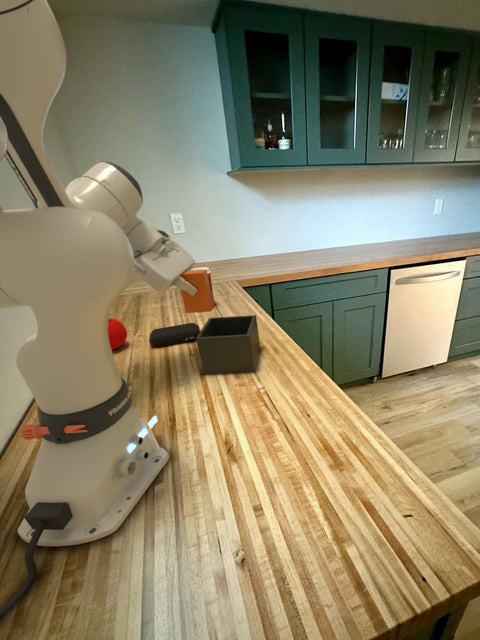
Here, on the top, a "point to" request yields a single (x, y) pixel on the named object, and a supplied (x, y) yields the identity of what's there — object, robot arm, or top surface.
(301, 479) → the top surface
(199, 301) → the block
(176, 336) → the carrying case
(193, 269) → the paper cup
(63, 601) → the top surface
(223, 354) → the trash bin
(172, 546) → the top surface
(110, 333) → the tomato
